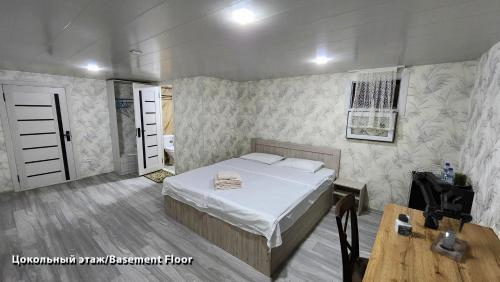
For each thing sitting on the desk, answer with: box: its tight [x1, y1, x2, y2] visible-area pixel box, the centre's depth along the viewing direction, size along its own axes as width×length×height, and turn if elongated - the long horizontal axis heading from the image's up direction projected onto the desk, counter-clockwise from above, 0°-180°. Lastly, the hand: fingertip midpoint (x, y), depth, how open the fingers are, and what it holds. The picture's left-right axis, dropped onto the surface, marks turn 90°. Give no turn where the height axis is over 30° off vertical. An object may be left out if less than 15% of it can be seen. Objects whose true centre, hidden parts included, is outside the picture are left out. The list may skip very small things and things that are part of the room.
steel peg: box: [442, 229, 457, 252], centre depth 113 cm, size 4×4×12 cm
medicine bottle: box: [394, 213, 413, 238], centre depth 131 cm, size 7×7×12 cm
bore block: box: [429, 231, 469, 264], centre depth 118 cm, size 12×22×2 cm, turn 127°
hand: (448, 228), depth 115 cm, fingers open, 9 cm apart
